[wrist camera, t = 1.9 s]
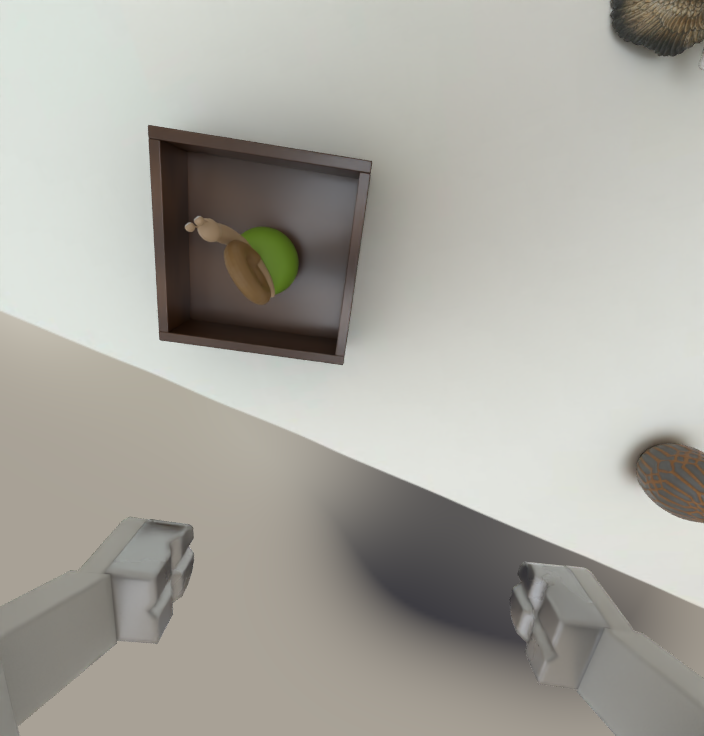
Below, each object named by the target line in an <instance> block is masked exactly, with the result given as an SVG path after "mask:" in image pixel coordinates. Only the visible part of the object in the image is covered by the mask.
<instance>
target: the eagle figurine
mask: <svg viewBox="0 0 704 736" xmlns="http://www.w3.org/2000/svg"><path fill="white" fill-rule="evenodd" d="M611 4H612V6H613V8H615V10H614V11H613V12H612V13H611V17H612V18H613V19H614V21H613V22H612V26H613V27H614V29H615V31H616V32H618V35H619V37H621V38H624V40H625V41H627V42H628V41H632V42H633V43H635V44H636V45H642V44H643V46H644V47H647V48H648V49H650V50H653V49H654V53H657V54H658V55H659V56H668V55H670V56H675V55H677V54H681V53H682V52H683V51H684V50H685V49H687V48H690V47H692V46H693V45H694V43H700V42H701V41H702V40H703V39H704V0H611ZM699 68H700V69H702V70H704V49H703V53H702V56H701V59H700V62H699Z"/></svg>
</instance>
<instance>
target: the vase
mask: <svg viewBox="0 0 704 736" xmlns="http://www.w3.org/2000/svg"><path fill="white" fill-rule="evenodd" d="M636 474H637V478H638V481H639V483H640V485H641V487H642V489H643V490H644V492H645V493H646V494H647V495H648V497H649V498H650V499H651V500H652V501H653V502H655V503H656V504H657V505H658V506H659V507H661V508H662V509H664V510H665V511H667V512H669V513H671V514H673V515H675V516H677V517H679V518H682V519H685V520H689V521H694V522H700V523H704V453H703V452H702V451H700V450H697V449H695V448H692V447H689V446H686V445H681V444H661V445H657V446H654V447H652V448H650V449H648V450H646V451H645V452H644V453H643V454H642V455H641V457H640V458H639V460H638V463H637V468H636Z"/></svg>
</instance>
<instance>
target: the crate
mask: <svg viewBox="0 0 704 736" xmlns="http://www.w3.org/2000/svg"><path fill="white" fill-rule="evenodd" d="M148 136H149V155H150V174H151V192H152V211H153V229H154V248H155V266H156V285H157V303H158V322H159V340H162V341H169V342H177V343H184V344H192V345H199V346H206V347H214V348H221V349H229V350H236V351H243V352H251V353H258V354H265V355H273V356H280V357H288V358H295V359H302V360H310V361H317V362H324V363H332V364H339V365H343V363H344V356H345V349H346V342H347V335H348V328H349V321H350V314H351V307H352V300H353V293H354V286H355V279H356V272H357V265H358V258H359V251H360V244H361V237H362V230H363V223H364V216H365V209H366V202H367V195H368V188H369V182H370V173H371V168H372V161H368V160H362V159H356V158H350V157H344V156H338V155H331V154H325V153H319V152H313V151H307V150H300V149H294V148H288V147H282V146H276V145H269V144H263V143H257V142H251V141H245V140H239V139H232V138H226V137H220V136H214V135H208V134H201V133H195V132H189V131H183V130H177V129H171V128H164V127H158V126H152V125H148ZM197 216H201V217H203V218H210V219H212V220H214V221H215V222H216V223H220V224H223V225H226V226H228V227H230V228H232V229H233V230H235V231H236V232H237V233H239V234H240V235H241V234H242V233H244V232H245V231H247V230H249V229H251V228H255V227H270V228H274V229H276V230H278V231H280V232H282V233H283V234H285V235H286V236H287V237H288V238H289V239H290V240H291V242H292V243H293V245H294V247H295V249H296V251H297V254H298V260H299V267H298V272H297V275H296V278H295V280H294V281H293V283H292V284H291V285H290V286H289V287H288V288H287V289H286V290H284V291H283V292H281V293H279V294H276V295H275V296H274V297H271V298H270V300H269V302H268V303H266V304H264V305H258V304H255V303H253V302H251V301H250V300H249V299H247V298H246V297H245V296H244V295H243V294H242V292H241V291H240V290H239V289H238V287H237V286H236V285H235V283H234V281H233V280H232V278H231V276H230V274H229V272H228V270H227V268H226V265H225V261H224V250H225V248H226V246H227V245H225V244H221V243H219V242H208V241H206V240H204V239H203V238H202V237H201V236H200V235H199V233H198V229H197V228H196V227H195V230H194V231H193V232H188V231H187V230H186V229H185V225H186V224H187V223H189V222H191V223H193V224H194V225H195V226H197V225H196V224H195V222H194V219H195V218H196V217H197Z"/></svg>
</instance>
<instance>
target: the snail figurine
mask: <svg viewBox="0 0 704 736" xmlns="http://www.w3.org/2000/svg"><path fill="white" fill-rule="evenodd" d="M194 222H195V224H196V225H197V226H195V225H194V224H193V223H191V222H189V223H187V224H186V225H185V229H186V230H187V231H188V232H193V231H194V230H195V227H196V228H197V229H198V233H199V235H200V236H201V237H202V238H203V239H204V240H206V241H208V242H219V243H221V244H225V245H227V246H226V248H225V250H224V261H225V265H226V268H227V270H228V272H229V274H230V276H231V278H232V280H233V281H234V283H235V285H236V286H237V287H238V289H239V290H240V291H241V292H242V294H243V295H244V296H245V297H246V298H247V299H249V300H250V301H251V302H253V303H255V304H258V305H264V304H266V303H268V302H269V300H270V298H271V297H274V296H275V295H276V294H279V293H281V292H283V291H284V290H286V289H287V288H288V287H289V286H290V285H291V284H292V283H293V281H294V280H295V278H296V275H297V272H298V267H299V260H298V254H297V251H296V249H295V247H294V245H293V243H292V242H291V240H290V239H289V238H288V237H287V236H286V235H285V234H283V233H282V232H280V231H278V230H276V229H274V228H270V227H255V228H251V229H249V230H247V231H245V232H244V233H242V234H241V235H240V234H239V233H237V232H236V231H235V230H233V229H232V228H230V227H228V226H226V225H223V224H220V223H216V222H215V221H214V220H212V219H210V218H203V217H201V216H197V217H196V218H195V219H194Z"/></svg>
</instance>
